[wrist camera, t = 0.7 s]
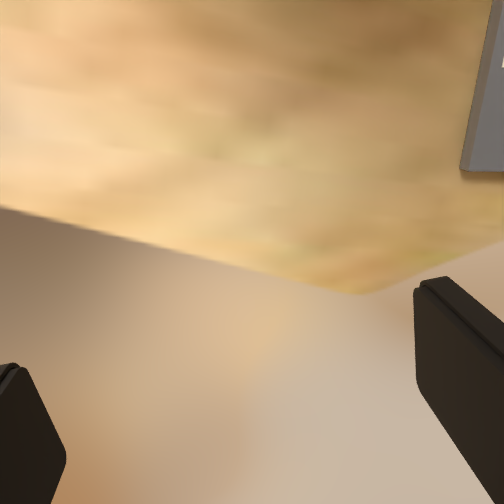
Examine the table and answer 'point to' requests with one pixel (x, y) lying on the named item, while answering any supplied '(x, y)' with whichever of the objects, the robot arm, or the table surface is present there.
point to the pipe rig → (488, 102)
